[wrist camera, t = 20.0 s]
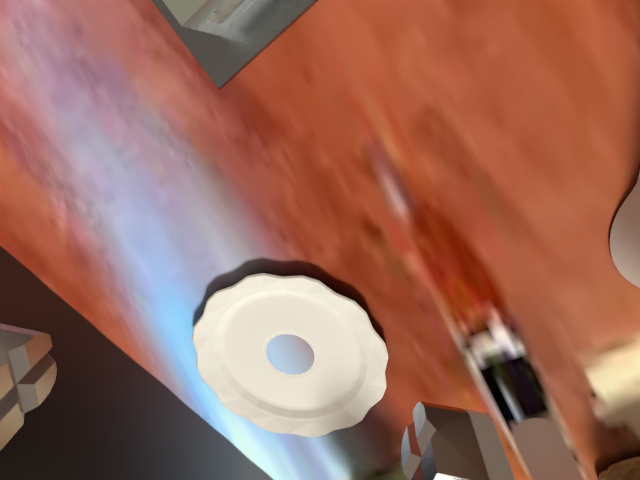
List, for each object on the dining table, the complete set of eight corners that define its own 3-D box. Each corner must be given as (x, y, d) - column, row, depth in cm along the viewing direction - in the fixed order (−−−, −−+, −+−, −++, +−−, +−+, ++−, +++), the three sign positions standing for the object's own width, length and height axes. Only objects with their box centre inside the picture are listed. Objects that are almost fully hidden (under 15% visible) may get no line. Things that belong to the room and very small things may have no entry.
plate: (245, 229, 45) (240, 235, 44) (428, 335, 47) (429, 345, 45) (174, 368, 55) (167, 378, 54) (326, 452, 57) (324, 463, 55)
